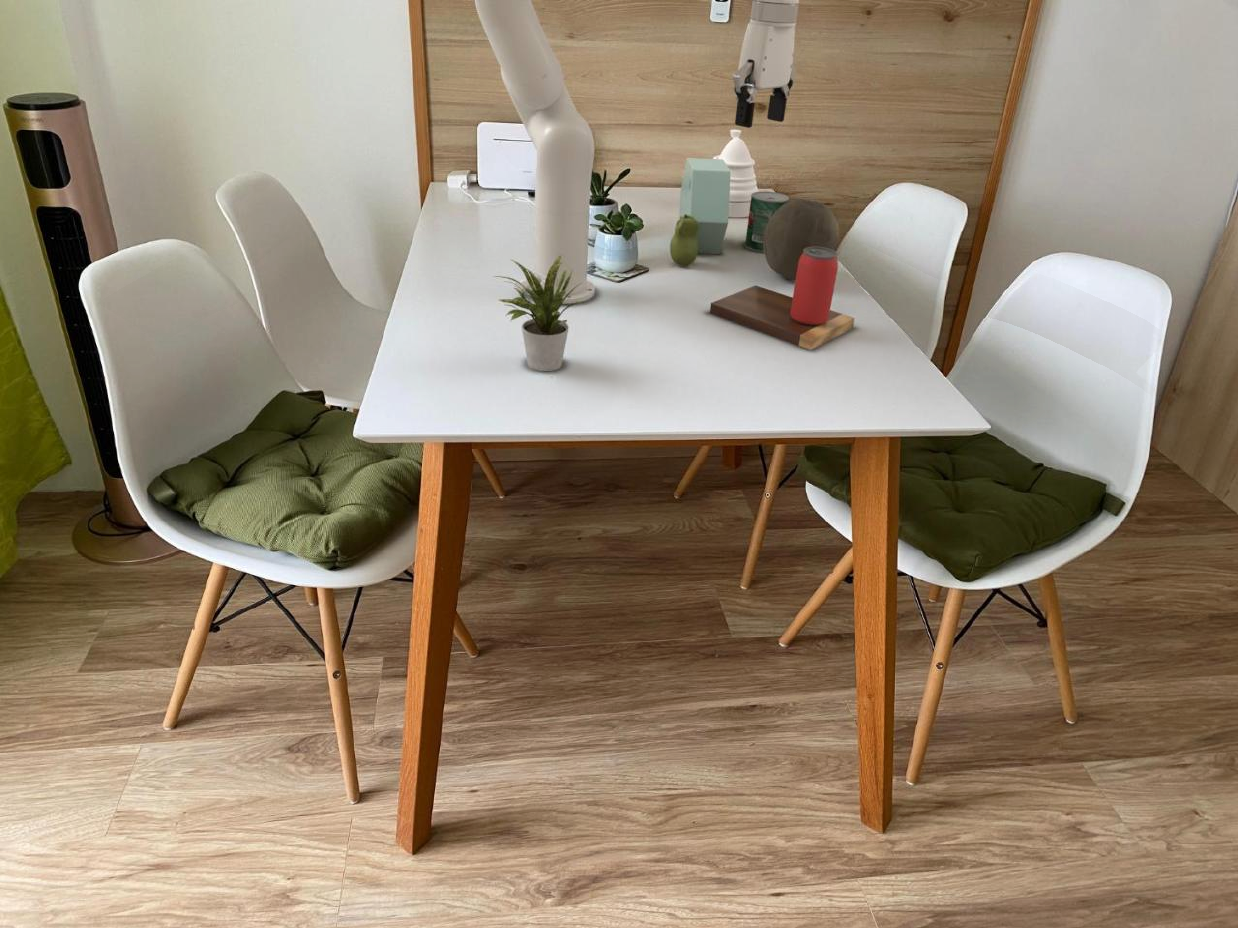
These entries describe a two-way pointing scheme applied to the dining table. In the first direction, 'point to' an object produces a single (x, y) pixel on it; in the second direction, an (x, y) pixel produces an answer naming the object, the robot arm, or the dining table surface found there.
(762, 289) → the cutting board
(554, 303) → the house plant
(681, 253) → the pear
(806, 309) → the beer can
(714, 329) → the dining table surface
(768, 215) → the canned tomato
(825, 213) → the brown coconut
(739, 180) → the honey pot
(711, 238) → the pale green tall block
